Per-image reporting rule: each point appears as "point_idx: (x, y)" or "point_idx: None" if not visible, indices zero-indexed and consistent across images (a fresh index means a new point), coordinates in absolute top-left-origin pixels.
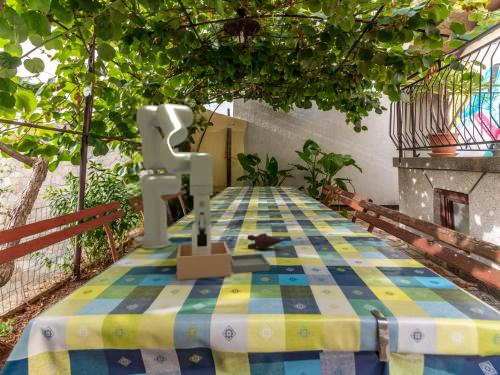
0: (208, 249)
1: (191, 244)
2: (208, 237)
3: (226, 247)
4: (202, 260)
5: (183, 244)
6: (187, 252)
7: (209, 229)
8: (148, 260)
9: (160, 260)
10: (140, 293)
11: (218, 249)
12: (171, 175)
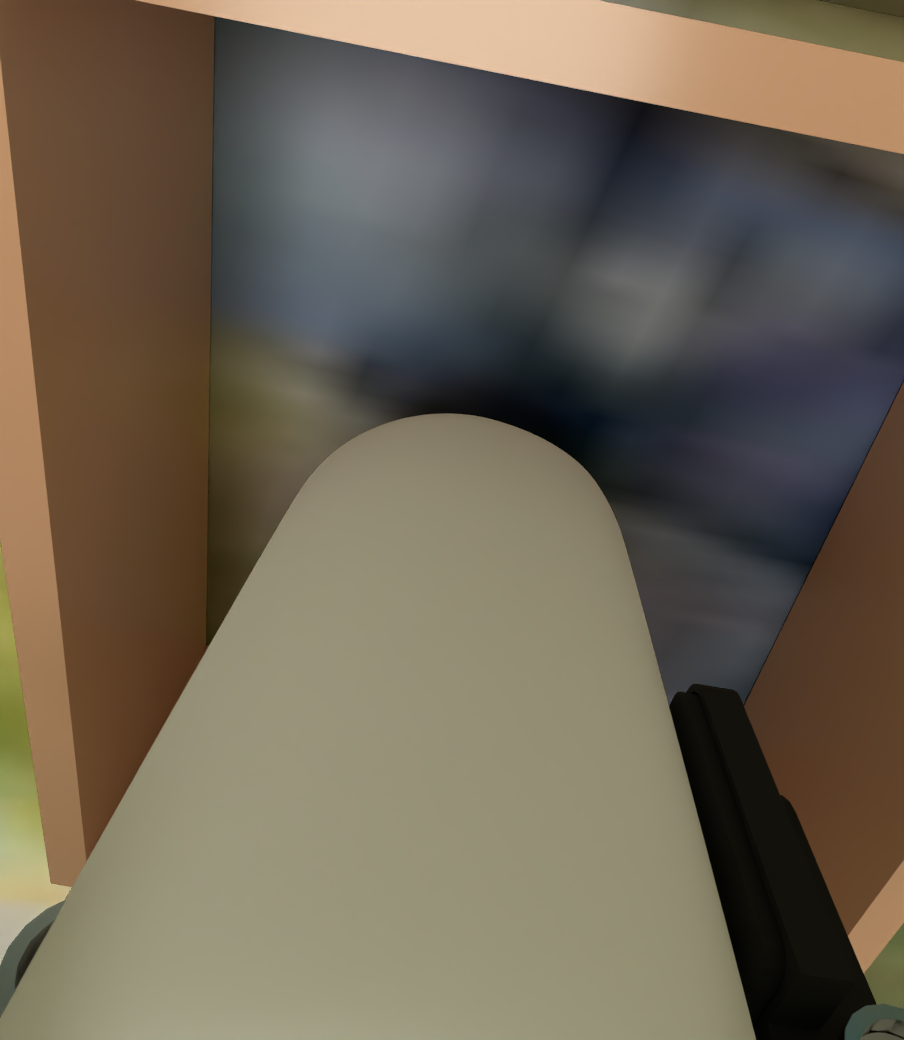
0: (621, 562)
1: (78, 733)
2: (673, 777)
3: (713, 76)
4: None
5: (85, 840)
6: (143, 686)
7: (713, 1030)
8: (13, 875)
9: (28, 798)
10: (880, 987)
11: (113, 144)
12: None
